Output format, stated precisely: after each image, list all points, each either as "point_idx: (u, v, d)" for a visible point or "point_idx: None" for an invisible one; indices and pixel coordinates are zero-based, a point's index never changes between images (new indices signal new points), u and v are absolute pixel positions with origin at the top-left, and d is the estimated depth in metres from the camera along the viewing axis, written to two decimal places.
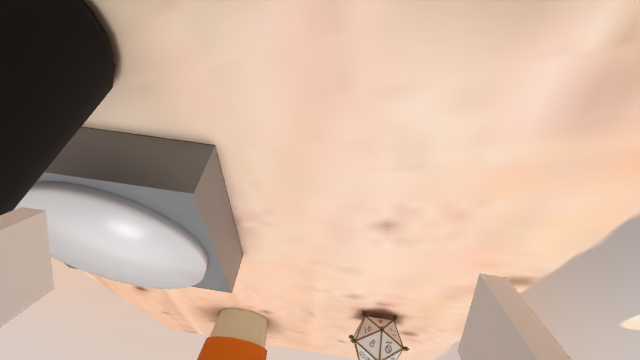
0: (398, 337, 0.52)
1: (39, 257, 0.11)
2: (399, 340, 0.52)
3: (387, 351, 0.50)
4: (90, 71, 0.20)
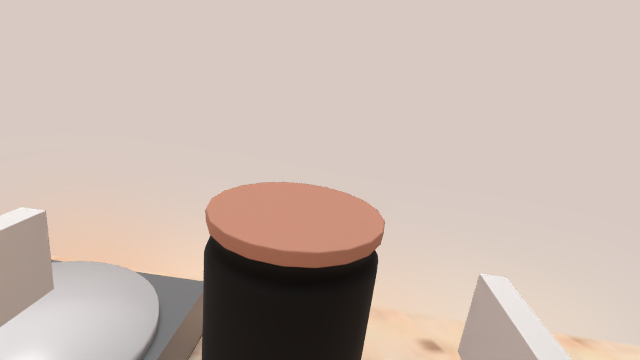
0: None
1: (39, 257, 0.11)
2: None
3: None
4: None
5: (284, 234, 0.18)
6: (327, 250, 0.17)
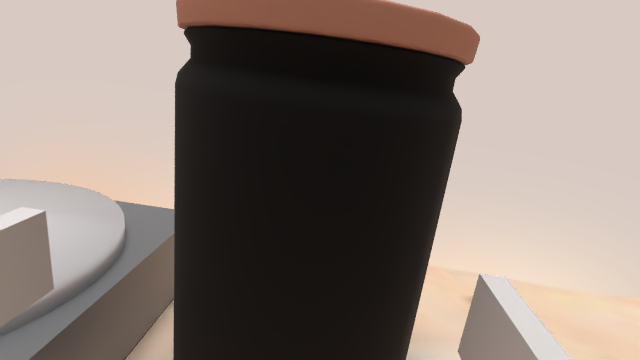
0: None
1: (39, 257, 0.11)
2: None
3: None
4: None
5: None
6: (401, 4, 0.09)
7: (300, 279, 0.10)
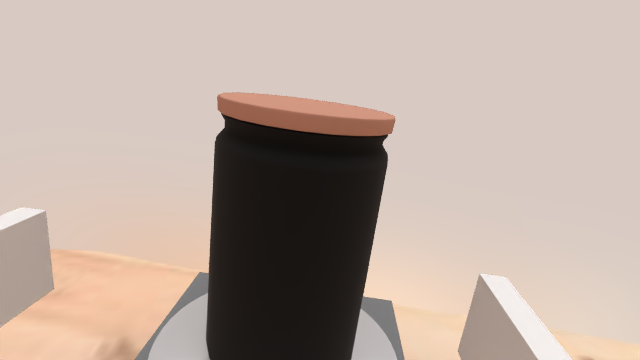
0: None
1: (39, 257, 0.11)
2: None
3: None
4: None
5: (298, 108, 0.18)
6: (343, 116, 0.17)
7: (291, 258, 0.18)
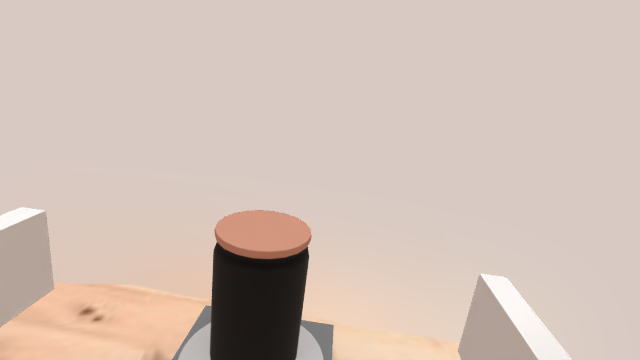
0: None
1: (39, 257, 0.11)
2: None
3: None
4: None
5: (254, 242, 0.36)
6: (274, 250, 0.35)
7: (252, 316, 0.37)
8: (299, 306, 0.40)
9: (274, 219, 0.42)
